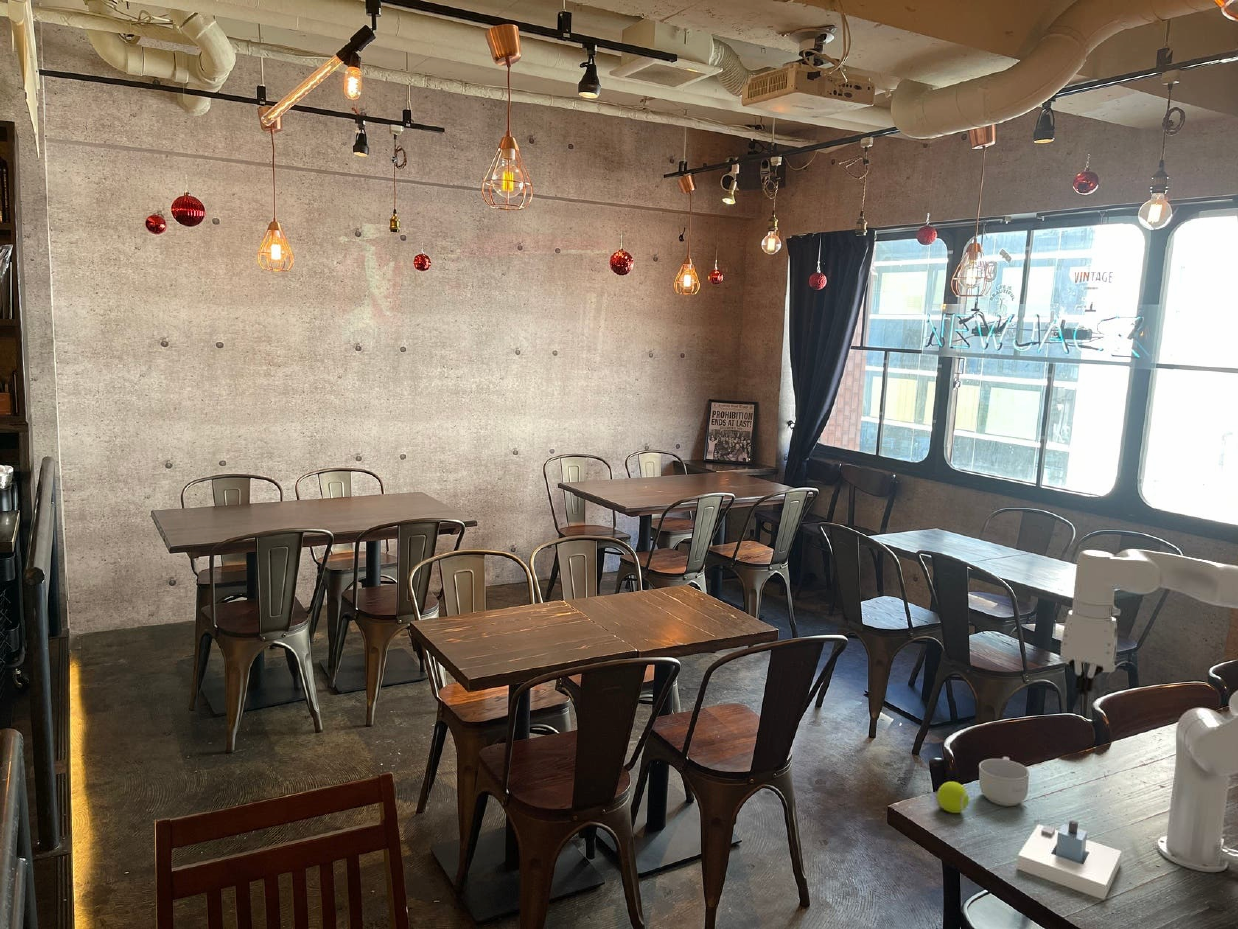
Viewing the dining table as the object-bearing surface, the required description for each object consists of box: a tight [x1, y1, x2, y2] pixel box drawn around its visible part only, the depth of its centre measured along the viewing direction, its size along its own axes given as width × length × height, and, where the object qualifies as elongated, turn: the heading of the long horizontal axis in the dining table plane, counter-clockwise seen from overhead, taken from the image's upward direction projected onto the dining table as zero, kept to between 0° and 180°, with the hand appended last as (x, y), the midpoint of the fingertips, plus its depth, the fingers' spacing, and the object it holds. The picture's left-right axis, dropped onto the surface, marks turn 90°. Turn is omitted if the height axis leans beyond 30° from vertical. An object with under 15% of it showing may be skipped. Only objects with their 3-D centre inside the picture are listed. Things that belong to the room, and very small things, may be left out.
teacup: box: [978, 756, 1030, 807], centre depth 215 cm, size 14×11×8 cm
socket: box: [1016, 824, 1122, 901], centre depth 187 cm, size 16×16×4 cm
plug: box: [1056, 820, 1088, 864], centre depth 186 cm, size 4×4×9 cm
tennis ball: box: [936, 781, 970, 814], centre depth 208 cm, size 7×7×7 cm
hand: (1083, 693), depth 196 cm, fingers closed
